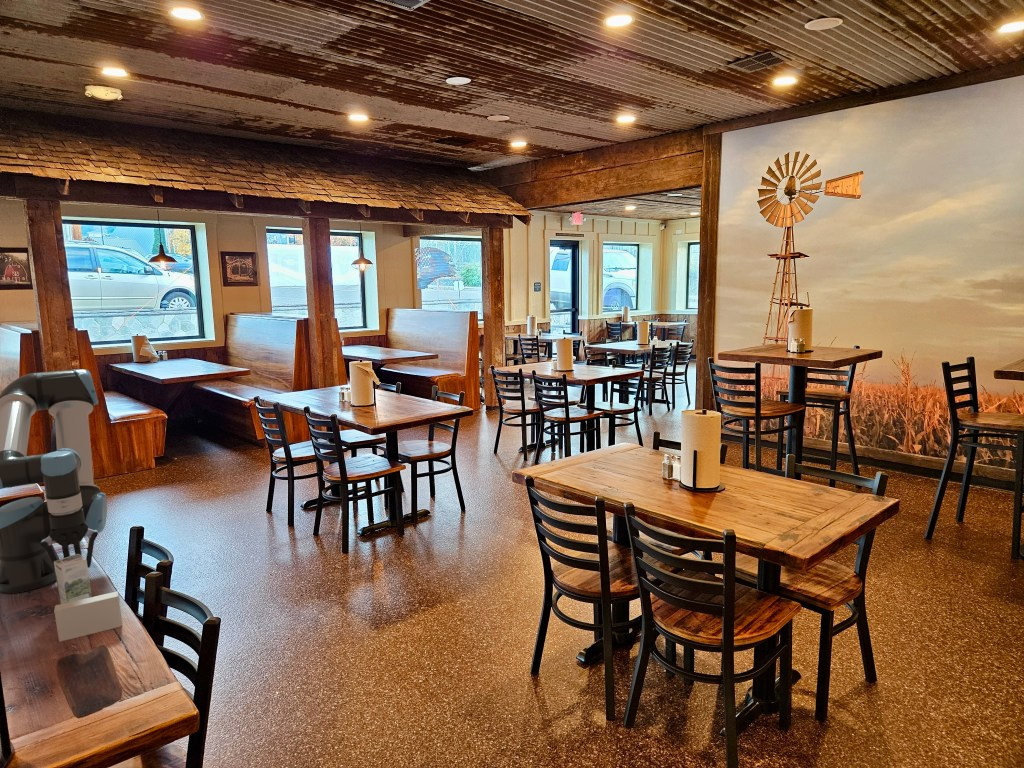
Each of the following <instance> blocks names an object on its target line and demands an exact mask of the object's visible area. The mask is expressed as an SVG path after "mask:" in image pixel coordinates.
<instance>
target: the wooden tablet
mask: <svg viewBox="0 0 1024 768" xmlns="http://www.w3.org/2000/svg"><path fill="white" fill-rule="evenodd" d="M56 663H57V665H56V667H57V674H58V678H59V682H60V684H61V685H60V686H61V687H62V690H63V692H64V694H65V698H66V699H67V702H68V703H67V704H68V705H69V707H70V708H71V711H72V713H73V714H74V715H75V716H76V717H78V718H82V717H84V716H87V715H91V714H94V713H95V714H96V713H97V712H100V711H103V709H106V708H108V707H110V706H114V705H115V704H116V703H117V702H119V701H121V699H122V695H123V689H122V685H121V683H120V680H119V676H118V673H117V669H116V668H115V664H114V661H113V658H112V655H111V653H110V650H109V648H108V647H107V646H106V645H105V644H101V645H98V646H96V647H93V648H92V649H91V650H90V651H89V652H87V653H73V654H70V655H66V656H64V657H61V658H59V659H58V660H57V661H56Z"/></svg>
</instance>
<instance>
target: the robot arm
mask: <svg viewBox="0 0 1024 768" xmlns="http://www.w3.org/2000/svg"><path fill="white" fill-rule="evenodd" d="M96 405H99V399H98V396H97V392H96V388H95V385H94V381H93V377H92V373H91V371H89V369H75V368H73V369H71V370H55V371H42V372H33V373H32V372H31V373H26V374H24V375H22V376H19V377H18V378H16V379H15V380H13V381H12V382H10V383H9V384H8V385H6V386H5V388H4V389H3V390H1V392H0V490H3V489H10V488H13V487H21V486H28V485H34V484H39V483H43V485H44V491H45V499H46V501H44V499H42V497H40V496H35V497H34V496H31V497H26V498H25V497H24V498H20V499H17V500H13V501H11V502H9V503H7V504H4V505H2V506H0V593H2V594H18V592H20V593H24V591H26V592H29V591H28V590H30V591H33V590H32V589H34V590H37V589H40V588H43V587H46V586H47V584H48V585H50V584H51V583H54V582H55V581H57V580H56V573H55V567H54V561H56V560H59V559H60V557H59V555H58V553H57V551H56V549H55V547H54V545H53V543H54V542H56V543H57V544H58V545H59V546H61V550H62V555H63V558H66V557H69V556H71V552H70V547H69V546H71V545H73V549H74V555H76V554H80V555H81V556H83V555H82V554H83V553H82V548H81V542H82V540H83V539H84V538H86V537H87V538H89V539H88V544H87V551H86V558H85V559H86V560H87V566H88V569H89V568H90V567H91V566H92V558H93V553H94V552H93V551H94V545H95V540H96V538H97V537H98V535H99V533H102V532H103V531H104V529H105V527H106V524H107V515H108V499H107V494H106V493H105V492H101V488H100V487H99V486H98V485H96V484H95V483H94V474H93V473H94V471H93V462H92V460H93V459H92V448H91V447H92V446H91V437H90V435H91V434H90V422H89V415H90V414H92V412H93V411H94V406H96ZM45 410H47V411H48V413H49V415H50V416H52V417H54V422H55V423H54V424H55V437H56V438H55V439H56V442H55V443H56V450H55V451H52V452H49V453H42V454H40V453H39V454H35V455H28V454H27V453H28V446H29V437H30V428H31V421H32V417H33V415H35V413H36V412H37V411H45ZM39 587H40V588H39ZM36 588H37V589H36Z"/></svg>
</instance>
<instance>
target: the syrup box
mask: <svg viewBox="0 0 1024 768" xmlns="http://www.w3.org/2000/svg"><path fill="white" fill-rule="evenodd" d="M54 567H55V573H56V580H55V581H56V585H57V586H56V587H57V590H58V592H57V593H58V599H59V604H64V603H68V602H73V601H77V600H82V599H86V598H90V597H93V596H92V590H91V583H90V575H89V568H88V566H87V560H86V558H85V557H84V556H83V555H82V556H81V555H80V554H76V555H75V554H73V555H70V556H69V557H66V558H64V557H62V558H59V560H56V561H54Z"/></svg>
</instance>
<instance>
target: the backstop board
mask: <svg viewBox="0 0 1024 768" xmlns="http://www.w3.org/2000/svg"><path fill="white" fill-rule="evenodd" d="M119 595H120V594H119V591H118V590H117V591H114V592H113V591H112V592H108V593H105V594H99V595H96V596H92V597H90V598H86V599H82V600H77V601H73V602H68V603H64V604H60V603H59V604H56V605H55V606H54V609H53V610H54V618H55V623H56V630H57V631H56V632H57V637H58V642H59V643H60V642H65V641H69V640H73V639H76V638H81V637H85V636H89V635H92V634H96V633H101V632H105V631H109V630H113V629H117V628H121V627H123V617H122V610H121V603H120V596H119ZM120 626H121V627H120ZM116 627H117V628H116Z"/></svg>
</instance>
